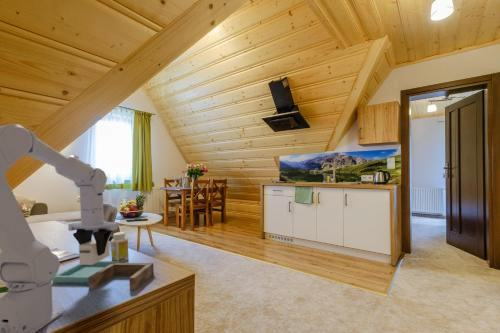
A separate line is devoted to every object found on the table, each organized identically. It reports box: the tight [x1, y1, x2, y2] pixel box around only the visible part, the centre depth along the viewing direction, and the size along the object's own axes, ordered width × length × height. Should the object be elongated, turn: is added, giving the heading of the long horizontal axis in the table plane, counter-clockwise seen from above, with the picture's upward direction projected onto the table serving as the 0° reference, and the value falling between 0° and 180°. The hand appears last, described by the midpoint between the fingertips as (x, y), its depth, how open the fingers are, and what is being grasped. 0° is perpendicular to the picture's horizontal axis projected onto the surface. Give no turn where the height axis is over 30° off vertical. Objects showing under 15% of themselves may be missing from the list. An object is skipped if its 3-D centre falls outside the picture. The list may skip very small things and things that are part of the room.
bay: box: [88, 262, 155, 291], centre depth 76 cm, size 10×14×4 cm
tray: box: [52, 260, 119, 285], centre depth 82 cm, size 13×13×2 cm
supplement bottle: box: [110, 231, 129, 263], centre depth 93 cm, size 6×6×10 cm
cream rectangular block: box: [78, 238, 110, 265], centre depth 74 cm, size 8×4×6 cm, turn 173°
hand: (94, 254), depth 74 cm, fingers closed on cream rectangular block, 4 cm apart
